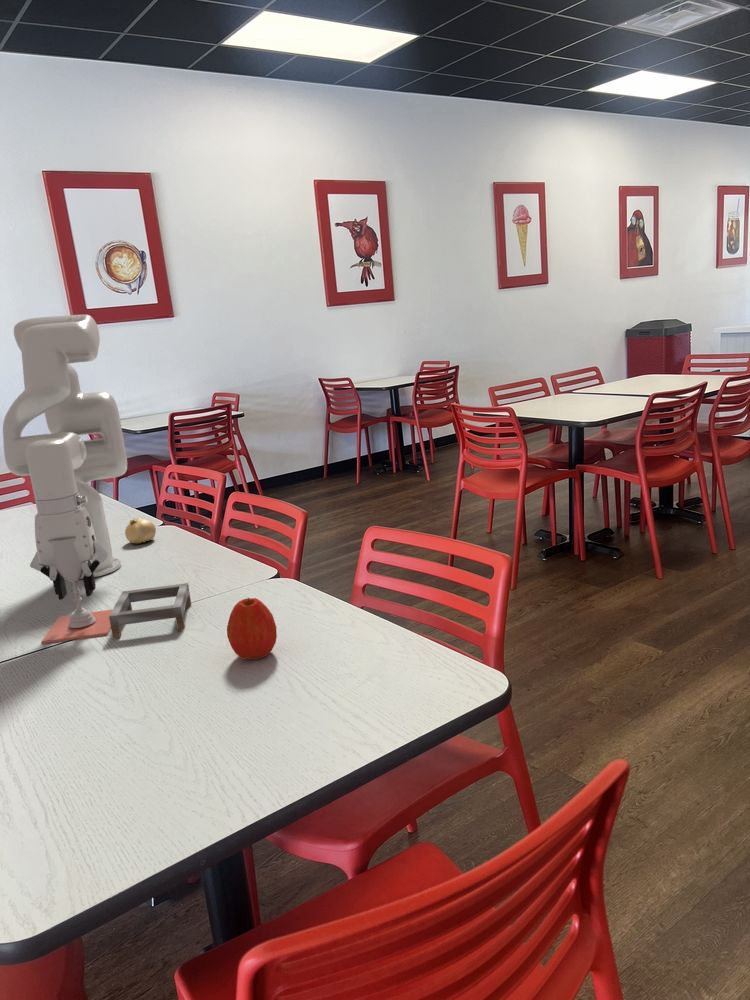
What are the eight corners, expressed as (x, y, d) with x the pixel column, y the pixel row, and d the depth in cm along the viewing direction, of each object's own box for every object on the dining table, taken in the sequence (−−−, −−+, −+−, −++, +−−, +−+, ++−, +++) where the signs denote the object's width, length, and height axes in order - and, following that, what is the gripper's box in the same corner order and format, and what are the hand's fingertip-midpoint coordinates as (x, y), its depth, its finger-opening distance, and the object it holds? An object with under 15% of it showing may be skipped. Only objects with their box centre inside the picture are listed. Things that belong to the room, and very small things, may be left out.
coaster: (59, 618, 144) (59, 616, 144) (120, 610, 146) (120, 608, 146) (41, 643, 133) (41, 641, 133) (107, 634, 134) (107, 632, 134)
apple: (238, 672, 115) (229, 611, 113) (224, 653, 122) (216, 595, 120) (286, 658, 119) (278, 598, 116) (270, 640, 126) (262, 584, 123)
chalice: (108, 616, 141) (92, 530, 137) (85, 631, 135) (66, 541, 131) (79, 614, 144) (62, 529, 139) (54, 628, 138) (35, 540, 133)
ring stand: (126, 612, 145) (122, 591, 144) (191, 603, 146) (188, 582, 145) (113, 639, 132) (108, 616, 131) (184, 629, 134) (180, 606, 133)
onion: (135, 538, 199) (131, 513, 197) (162, 537, 198) (158, 512, 196) (122, 547, 191) (117, 521, 190) (149, 546, 190) (145, 520, 188)
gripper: (109, 495, 138) (125, 583, 143) (18, 505, 136) (37, 594, 141) (100, 504, 131) (117, 596, 135) (4, 515, 129) (25, 608, 133)
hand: (76, 594), depth 138 cm, fingers closed on chalice, 4 cm apart
